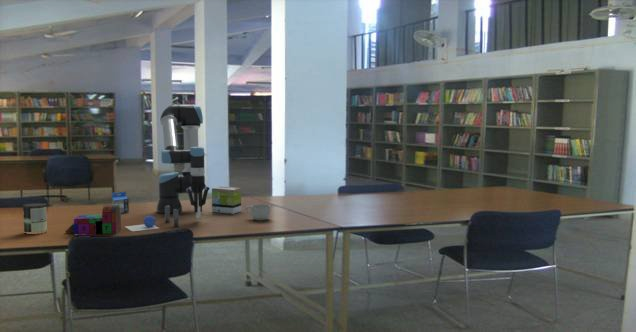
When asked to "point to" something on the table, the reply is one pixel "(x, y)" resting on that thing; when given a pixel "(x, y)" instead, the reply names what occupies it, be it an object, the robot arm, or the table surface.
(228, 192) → the tea box
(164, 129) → the robot arm
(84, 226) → the block puzzle
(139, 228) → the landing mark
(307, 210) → the table surface
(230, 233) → the table surface
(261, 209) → the teacup
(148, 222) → the ball
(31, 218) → the coffee can
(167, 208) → the gate posts
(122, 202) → the label tape box
